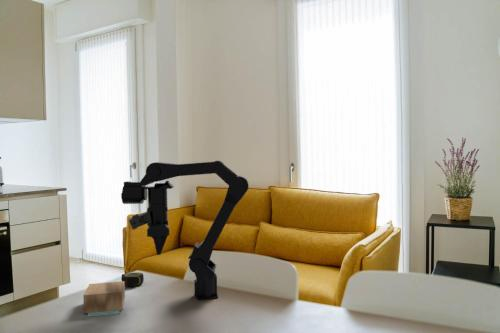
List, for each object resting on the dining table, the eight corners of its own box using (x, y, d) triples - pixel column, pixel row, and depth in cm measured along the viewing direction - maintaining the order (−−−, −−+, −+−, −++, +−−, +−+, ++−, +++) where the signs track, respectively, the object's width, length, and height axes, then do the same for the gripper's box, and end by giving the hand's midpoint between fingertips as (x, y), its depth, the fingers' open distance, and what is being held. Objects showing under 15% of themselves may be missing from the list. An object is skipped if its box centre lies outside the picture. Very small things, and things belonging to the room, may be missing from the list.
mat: (123, 296, 125) (123, 295, 125) (118, 313, 111) (118, 312, 111) (95, 298, 123) (95, 297, 123) (87, 316, 109) (87, 315, 109)
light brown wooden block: (124, 281, 123) (89, 284, 120) (121, 291, 113) (83, 295, 111) (124, 297, 123) (89, 300, 121) (122, 309, 113) (83, 313, 111)
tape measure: (141, 281, 141) (141, 270, 140) (145, 286, 134) (145, 275, 134) (121, 283, 138) (121, 272, 138) (123, 289, 132) (123, 278, 131)
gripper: (132, 201, 131) (133, 249, 131) (128, 208, 112) (129, 264, 113) (167, 199, 133) (168, 247, 134) (168, 206, 115) (169, 261, 115)
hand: (158, 254), depth 124 cm, fingers closed
